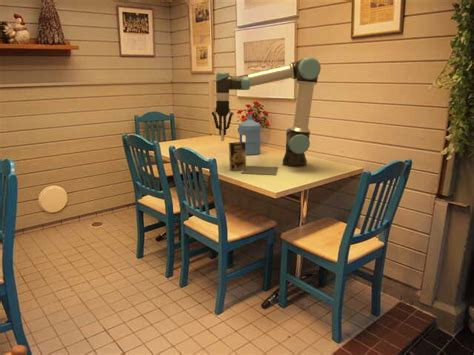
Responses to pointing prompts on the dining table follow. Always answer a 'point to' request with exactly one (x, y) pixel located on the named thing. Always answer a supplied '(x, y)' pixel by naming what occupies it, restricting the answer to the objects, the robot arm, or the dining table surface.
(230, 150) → the coffee box
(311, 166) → the dining table surface
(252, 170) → the mat
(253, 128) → the water jug
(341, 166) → the dining table surface
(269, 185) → the dining table surface
